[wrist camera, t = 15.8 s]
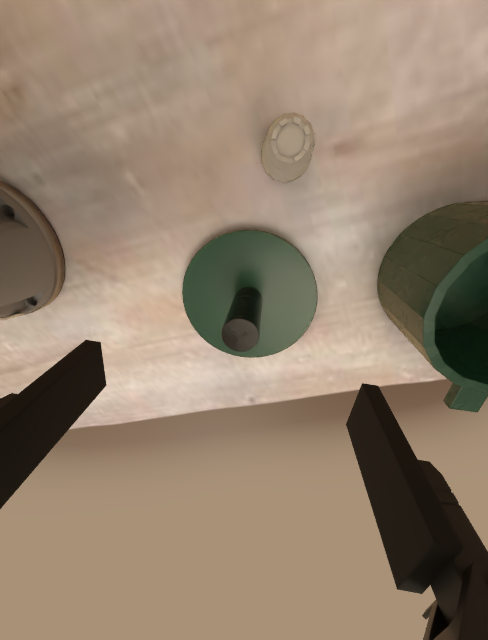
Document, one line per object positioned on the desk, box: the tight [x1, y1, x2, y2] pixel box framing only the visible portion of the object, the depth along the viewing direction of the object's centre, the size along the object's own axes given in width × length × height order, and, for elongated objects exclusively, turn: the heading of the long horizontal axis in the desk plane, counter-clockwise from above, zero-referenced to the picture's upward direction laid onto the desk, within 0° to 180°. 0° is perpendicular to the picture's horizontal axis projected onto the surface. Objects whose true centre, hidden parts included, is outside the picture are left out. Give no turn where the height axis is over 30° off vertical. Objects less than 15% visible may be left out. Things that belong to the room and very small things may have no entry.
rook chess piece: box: [261, 113, 314, 182], centre depth 21 cm, size 4×4×8 cm
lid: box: [182, 230, 317, 357], centre depth 27 cm, size 15×15×9 cm
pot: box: [377, 201, 488, 412], centre depth 23 cm, size 14×19×10 cm
